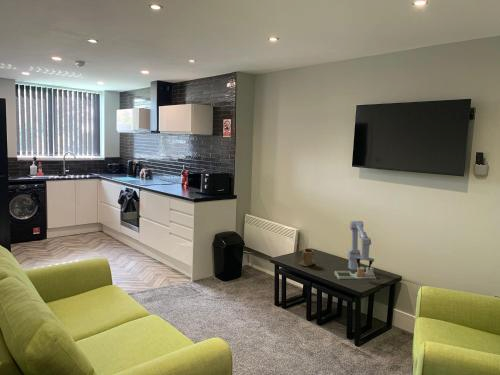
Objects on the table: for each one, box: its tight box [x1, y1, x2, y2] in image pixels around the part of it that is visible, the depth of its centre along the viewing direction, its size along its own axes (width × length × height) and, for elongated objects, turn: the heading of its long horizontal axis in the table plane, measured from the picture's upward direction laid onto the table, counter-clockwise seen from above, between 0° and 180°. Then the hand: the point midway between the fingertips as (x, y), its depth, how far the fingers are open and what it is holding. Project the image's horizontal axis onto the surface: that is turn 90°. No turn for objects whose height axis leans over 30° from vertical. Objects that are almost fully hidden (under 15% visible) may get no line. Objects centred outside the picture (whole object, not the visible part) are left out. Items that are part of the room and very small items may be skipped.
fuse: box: [365, 266, 374, 277], centre depth 318 cm, size 3×5×7 cm, turn 93°
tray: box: [334, 270, 356, 281], centre depth 318 cm, size 13×13×3 cm
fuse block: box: [352, 271, 377, 279], centre depth 319 cm, size 10×18×4 cm, turn 93°
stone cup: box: [298, 248, 316, 267], centre depth 345 cm, size 15×12×15 cm
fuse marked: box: [356, 266, 365, 277], centre depth 318 cm, size 3×5×7 cm, turn 93°
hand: (364, 268), depth 310 cm, fingers open, 7 cm apart
